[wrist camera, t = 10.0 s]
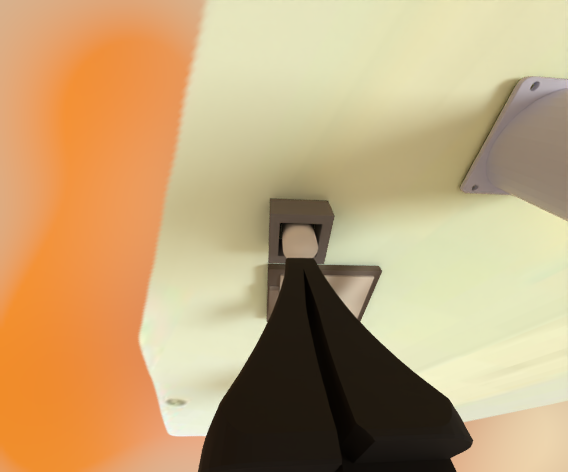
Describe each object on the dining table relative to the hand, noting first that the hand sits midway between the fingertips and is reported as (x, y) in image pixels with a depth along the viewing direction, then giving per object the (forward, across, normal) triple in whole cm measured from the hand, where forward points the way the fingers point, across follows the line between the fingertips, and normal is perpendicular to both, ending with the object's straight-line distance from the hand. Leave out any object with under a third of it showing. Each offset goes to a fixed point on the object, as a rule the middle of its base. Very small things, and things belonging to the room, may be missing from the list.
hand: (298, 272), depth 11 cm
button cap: (+9, -1, +3) cm, 9 cm away
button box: (+9, -1, +3) cm, 10 cm away
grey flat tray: (+9, -4, +13) cm, 16 cm away
